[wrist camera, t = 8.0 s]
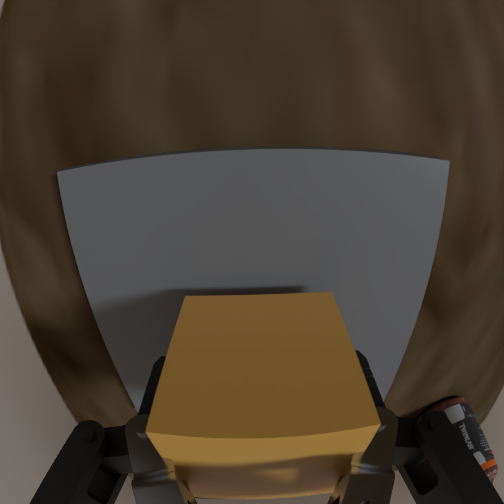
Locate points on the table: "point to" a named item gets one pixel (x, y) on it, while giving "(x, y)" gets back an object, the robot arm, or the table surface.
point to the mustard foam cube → (261, 396)
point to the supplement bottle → (469, 432)
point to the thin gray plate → (254, 241)
